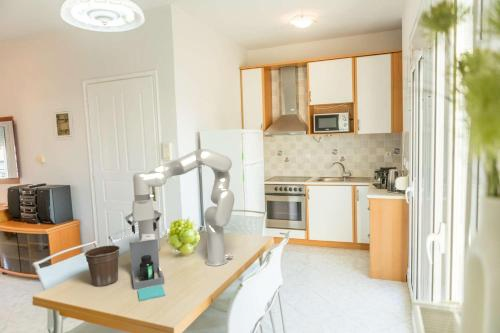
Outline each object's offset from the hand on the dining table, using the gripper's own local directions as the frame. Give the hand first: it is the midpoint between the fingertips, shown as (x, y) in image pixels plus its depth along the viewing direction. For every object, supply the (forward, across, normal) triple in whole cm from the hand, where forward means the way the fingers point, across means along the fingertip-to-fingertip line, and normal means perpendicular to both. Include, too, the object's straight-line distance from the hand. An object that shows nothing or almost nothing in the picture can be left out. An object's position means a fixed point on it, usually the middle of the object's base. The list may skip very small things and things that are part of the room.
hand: (144, 231), depth 166 cm
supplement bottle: (+25, 0, 0) cm, 25 cm away
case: (+24, 0, 0) cm, 25 cm away
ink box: (+25, -3, -31) cm, 40 cm away
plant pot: (+25, +20, -8) cm, 33 cm away
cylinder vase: (+25, -6, -48) cm, 54 cm away
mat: (+24, 0, +17) cm, 30 cm away
